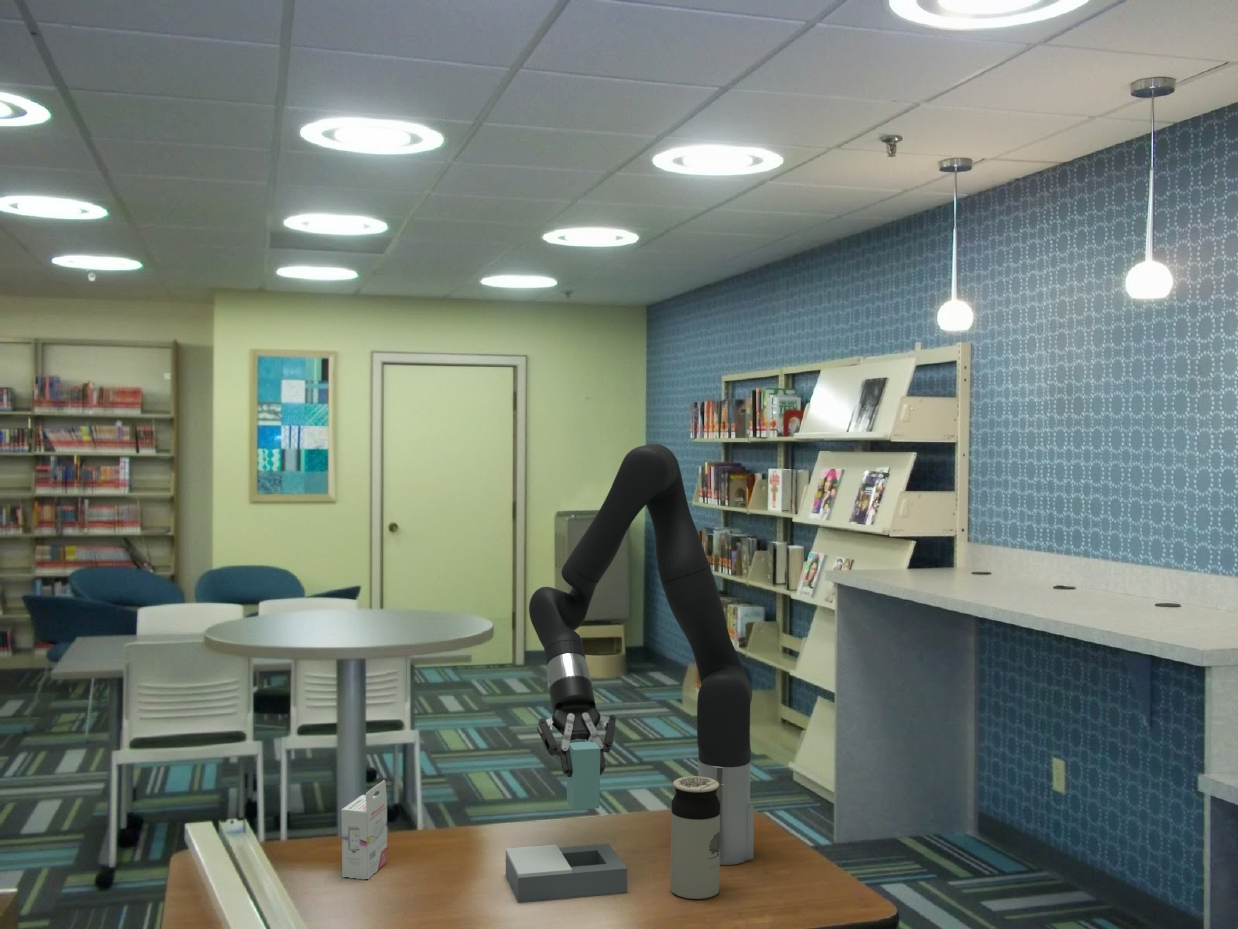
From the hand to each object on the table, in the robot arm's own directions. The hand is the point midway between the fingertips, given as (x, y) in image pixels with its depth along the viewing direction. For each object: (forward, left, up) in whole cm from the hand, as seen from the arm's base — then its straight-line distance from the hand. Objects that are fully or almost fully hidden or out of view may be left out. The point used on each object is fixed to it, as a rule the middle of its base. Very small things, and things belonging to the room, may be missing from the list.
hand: (585, 773), depth 199 cm
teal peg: (0, -1, -6) cm, 6 cm away
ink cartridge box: (+35, -15, -19) cm, 43 cm away
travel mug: (-17, +7, -19) cm, 26 cm away
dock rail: (+3, -1, -19) cm, 19 cm away
